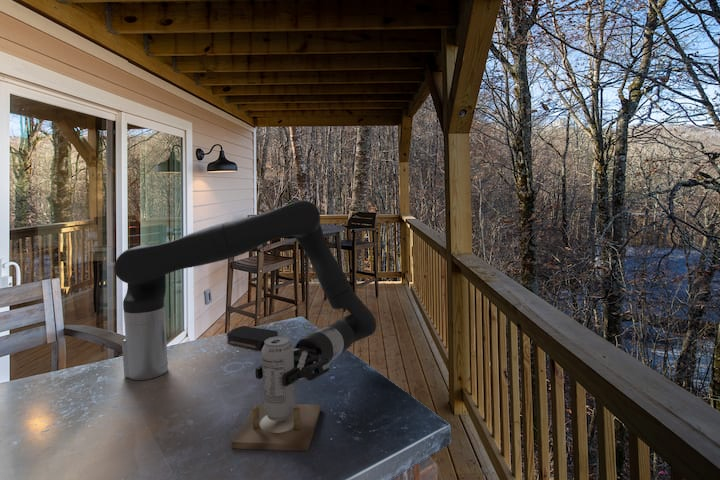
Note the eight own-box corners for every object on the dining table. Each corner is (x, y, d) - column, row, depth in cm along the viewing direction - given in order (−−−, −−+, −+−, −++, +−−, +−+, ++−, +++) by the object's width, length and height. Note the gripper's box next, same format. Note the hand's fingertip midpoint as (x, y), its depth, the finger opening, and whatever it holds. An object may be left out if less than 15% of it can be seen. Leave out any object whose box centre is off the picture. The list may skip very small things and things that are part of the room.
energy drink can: (302, 411, 80) (299, 338, 79) (280, 425, 75) (277, 348, 73) (279, 403, 83) (276, 333, 82) (257, 416, 78) (254, 342, 77)
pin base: (231, 448, 73) (230, 420, 72) (256, 408, 87) (255, 385, 86) (308, 450, 72) (307, 423, 71) (320, 410, 86) (320, 386, 85)
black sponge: (281, 342, 127) (281, 331, 127) (263, 351, 120) (263, 339, 119) (241, 335, 134) (241, 324, 134) (222, 343, 127) (222, 332, 127)
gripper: (294, 327, 94) (241, 352, 79) (347, 336, 87) (300, 366, 72) (295, 357, 95) (242, 388, 80) (348, 369, 88) (301, 405, 73)
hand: (270, 377), depth 76 cm, fingers closed on energy drink can, 6 cm apart
